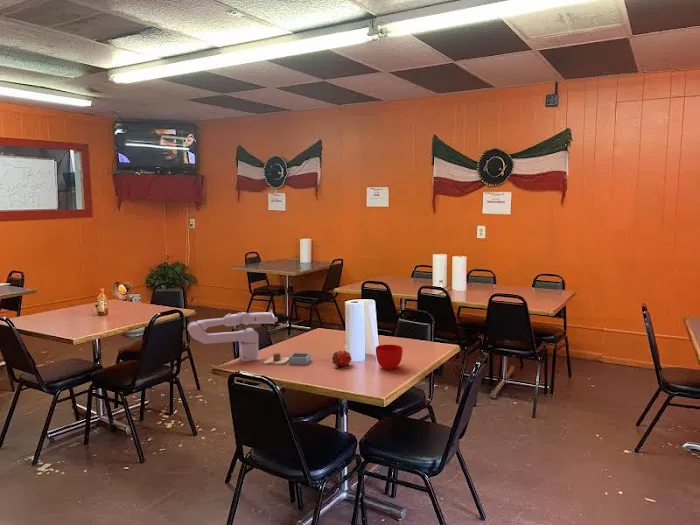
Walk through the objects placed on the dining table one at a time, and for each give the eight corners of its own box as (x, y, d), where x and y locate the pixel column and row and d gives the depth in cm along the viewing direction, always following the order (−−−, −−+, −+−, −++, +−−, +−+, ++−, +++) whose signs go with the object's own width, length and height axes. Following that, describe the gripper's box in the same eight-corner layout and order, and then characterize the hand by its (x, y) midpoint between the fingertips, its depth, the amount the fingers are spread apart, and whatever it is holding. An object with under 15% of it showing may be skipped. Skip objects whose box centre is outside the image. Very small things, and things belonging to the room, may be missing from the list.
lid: (263, 364, 271) (262, 356, 270) (269, 358, 282) (269, 351, 281) (284, 364, 269) (284, 357, 269) (290, 358, 280) (290, 351, 280)
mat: (260, 365, 270) (260, 364, 270) (268, 358, 283) (268, 357, 283) (286, 366, 268) (285, 365, 268) (292, 359, 281) (292, 358, 281)
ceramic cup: (410, 364, 269) (410, 344, 268) (395, 373, 254) (395, 352, 253) (386, 361, 275) (386, 341, 274) (370, 369, 261) (370, 349, 260)
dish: (288, 365, 270) (288, 357, 269) (293, 360, 279) (293, 352, 278) (306, 365, 268) (306, 357, 268) (310, 361, 277) (310, 353, 277)
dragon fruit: (331, 371, 264) (348, 370, 272) (341, 363, 259) (359, 362, 267) (325, 355, 267) (343, 354, 276) (336, 347, 262) (353, 347, 271)
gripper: (265, 312, 276) (291, 311, 281) (259, 308, 289) (284, 308, 294) (265, 326, 276) (291, 325, 281) (258, 321, 290) (283, 321, 295)
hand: (287, 317), depth 288 cm, fingers open, 7 cm apart
